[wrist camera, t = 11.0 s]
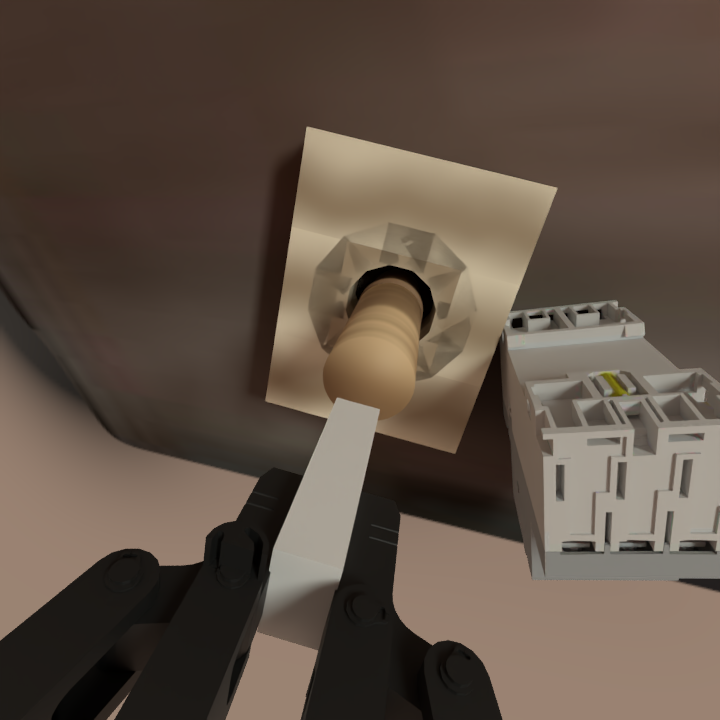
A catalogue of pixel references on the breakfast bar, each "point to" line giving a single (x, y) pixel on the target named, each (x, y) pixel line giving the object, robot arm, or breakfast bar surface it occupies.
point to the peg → (378, 346)
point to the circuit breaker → (609, 449)
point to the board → (408, 251)
